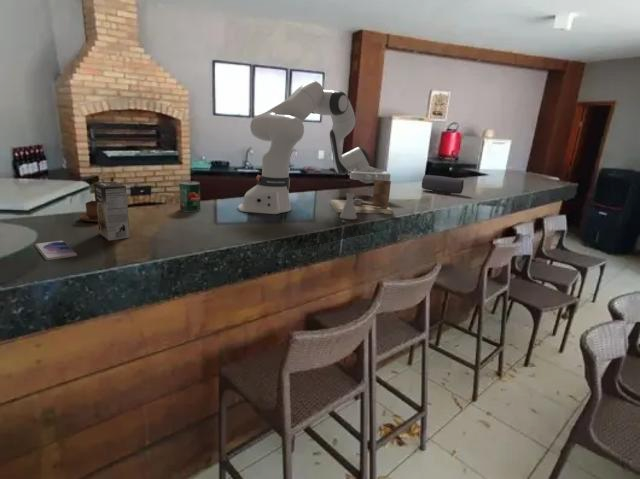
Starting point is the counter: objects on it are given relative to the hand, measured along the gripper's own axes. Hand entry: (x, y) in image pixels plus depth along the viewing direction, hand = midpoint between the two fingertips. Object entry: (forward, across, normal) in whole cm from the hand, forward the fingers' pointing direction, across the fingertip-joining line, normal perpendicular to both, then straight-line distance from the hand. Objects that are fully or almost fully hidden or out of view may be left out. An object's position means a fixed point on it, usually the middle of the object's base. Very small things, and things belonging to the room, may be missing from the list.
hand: (373, 178), depth 191 cm
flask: (+31, -18, +13) cm, 38 cm away
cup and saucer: (+44, -109, +15) cm, 118 cm away
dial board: (+12, -8, +13) cm, 19 cm away
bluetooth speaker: (-38, +53, +12) cm, 66 cm away
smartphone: (+77, -107, +15) cm, 133 cm away
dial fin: (+15, -4, +11) cm, 19 cm away
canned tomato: (+24, -82, +14) cm, 86 cm away
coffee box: (+62, -97, +15) cm, 117 cm away
